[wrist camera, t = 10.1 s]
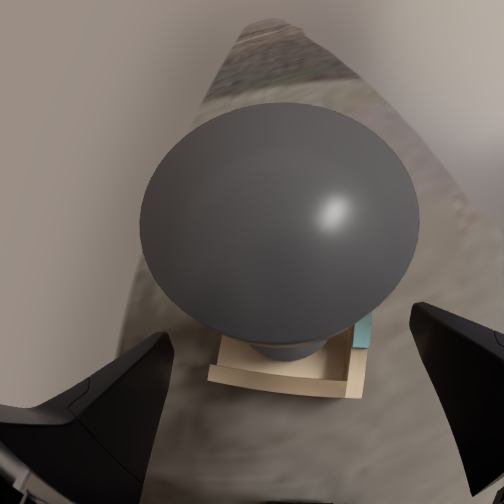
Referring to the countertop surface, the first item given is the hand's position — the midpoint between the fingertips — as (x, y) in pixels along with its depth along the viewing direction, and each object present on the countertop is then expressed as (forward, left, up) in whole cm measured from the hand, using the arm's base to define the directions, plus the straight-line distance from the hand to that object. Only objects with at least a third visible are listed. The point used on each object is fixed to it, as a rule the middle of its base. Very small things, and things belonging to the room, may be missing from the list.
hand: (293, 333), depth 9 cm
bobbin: (+2, +1, -8) cm, 8 cm away
